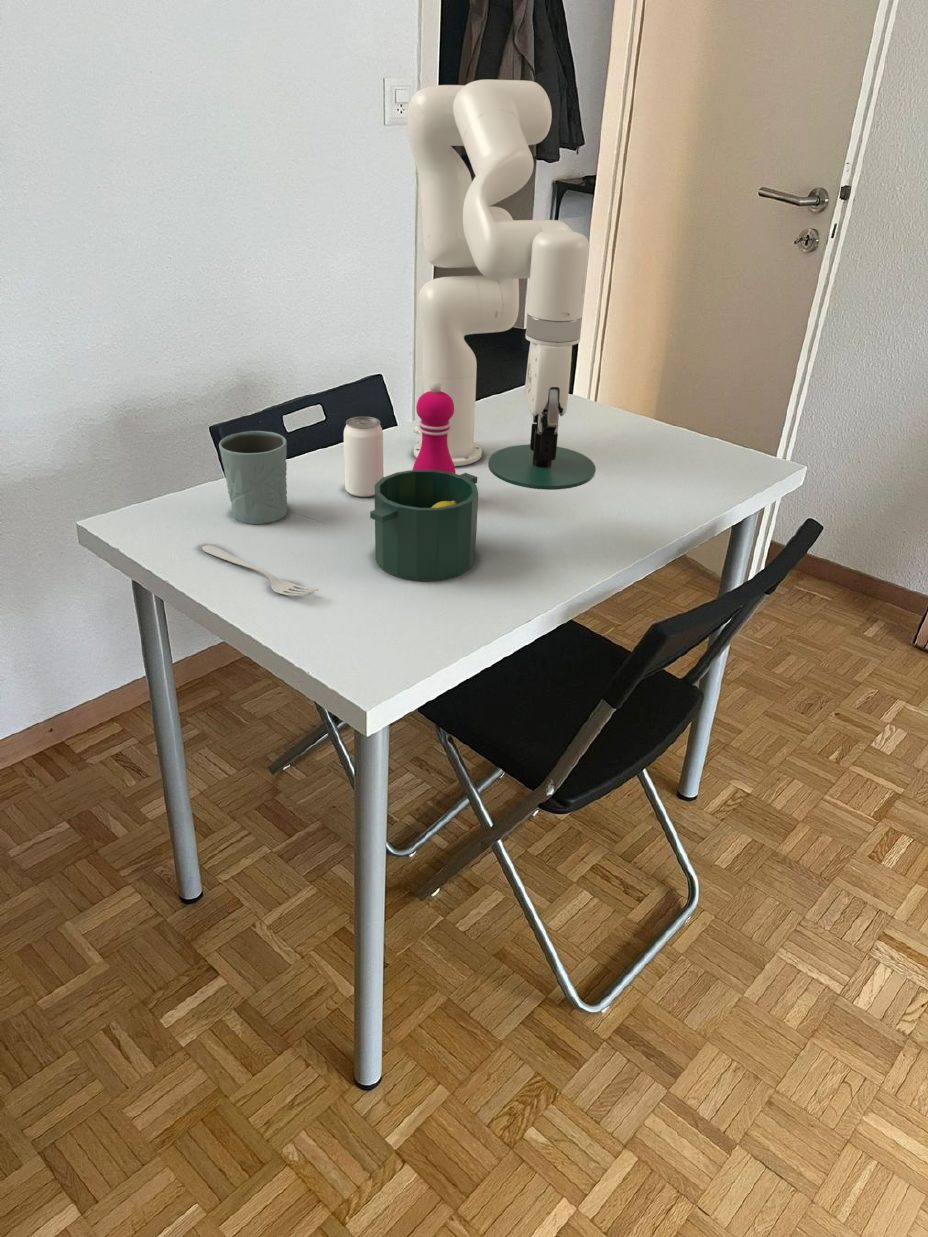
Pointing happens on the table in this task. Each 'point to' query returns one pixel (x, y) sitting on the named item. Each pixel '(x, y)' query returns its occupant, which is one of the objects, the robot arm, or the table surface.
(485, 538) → the table surface
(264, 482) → the grey-green cup
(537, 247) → the robot arm
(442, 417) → the pepper mill
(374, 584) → the table surface
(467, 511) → the pot
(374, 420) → the can
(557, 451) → the lid
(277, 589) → the fork
